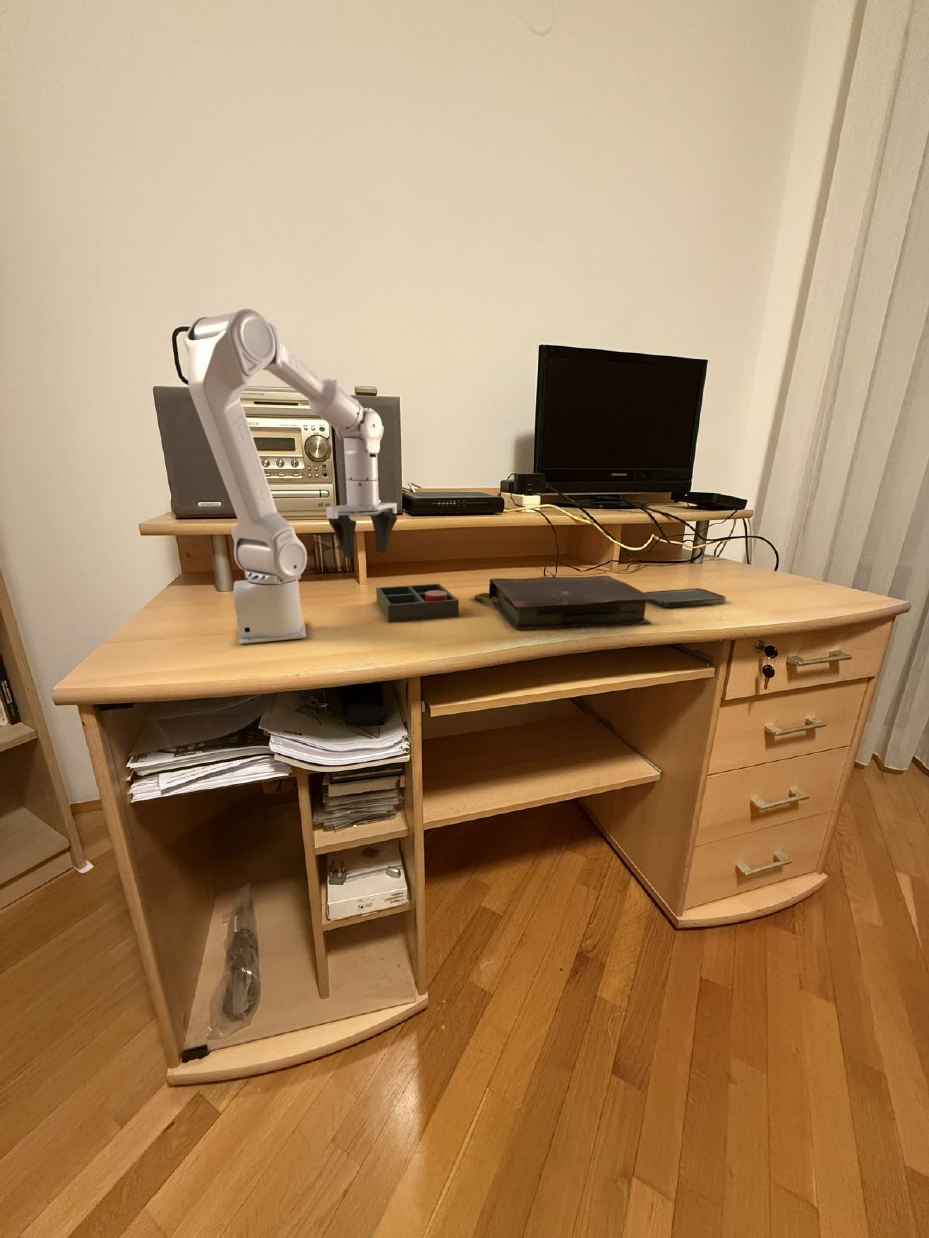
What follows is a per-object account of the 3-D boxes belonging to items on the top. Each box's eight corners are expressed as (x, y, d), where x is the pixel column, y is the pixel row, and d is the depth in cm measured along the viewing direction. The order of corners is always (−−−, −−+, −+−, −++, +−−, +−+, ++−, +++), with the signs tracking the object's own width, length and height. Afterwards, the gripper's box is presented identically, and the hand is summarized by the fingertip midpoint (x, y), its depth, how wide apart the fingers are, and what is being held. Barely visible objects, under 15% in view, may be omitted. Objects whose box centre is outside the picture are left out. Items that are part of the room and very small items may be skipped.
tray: (388, 622, 84) (387, 605, 83) (376, 602, 95) (376, 587, 95) (458, 616, 88) (458, 600, 87) (439, 597, 99) (439, 583, 98)
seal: (472, 613, 95) (550, 615, 93) (471, 591, 93) (551, 592, 91) (476, 596, 103) (548, 597, 101) (475, 575, 101) (549, 576, 100)
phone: (641, 592, 101) (700, 587, 106) (640, 597, 102) (699, 592, 106) (666, 602, 94) (728, 597, 98) (665, 608, 95) (727, 602, 99)
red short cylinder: (428, 612, 87) (428, 596, 86) (422, 606, 91) (422, 591, 90) (449, 611, 88) (449, 595, 88) (443, 605, 92) (443, 589, 91)
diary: (488, 600, 97) (489, 575, 96) (604, 596, 102) (607, 572, 100) (515, 634, 80) (517, 605, 78) (653, 627, 85) (658, 599, 83)
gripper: (341, 481, 81) (346, 562, 85) (406, 480, 91) (408, 552, 95) (317, 480, 85) (323, 557, 89) (382, 478, 96) (384, 547, 100)
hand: (365, 554), depth 93 cm, fingers open, 7 cm apart
